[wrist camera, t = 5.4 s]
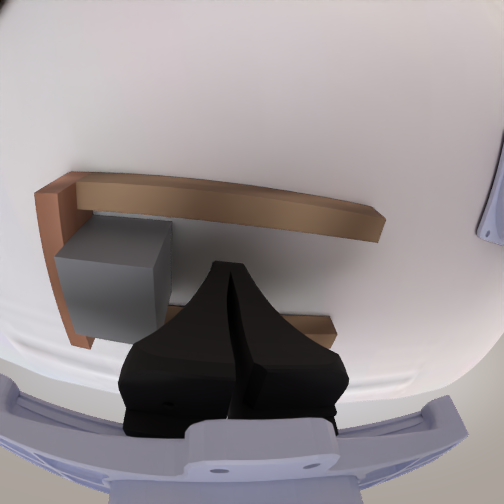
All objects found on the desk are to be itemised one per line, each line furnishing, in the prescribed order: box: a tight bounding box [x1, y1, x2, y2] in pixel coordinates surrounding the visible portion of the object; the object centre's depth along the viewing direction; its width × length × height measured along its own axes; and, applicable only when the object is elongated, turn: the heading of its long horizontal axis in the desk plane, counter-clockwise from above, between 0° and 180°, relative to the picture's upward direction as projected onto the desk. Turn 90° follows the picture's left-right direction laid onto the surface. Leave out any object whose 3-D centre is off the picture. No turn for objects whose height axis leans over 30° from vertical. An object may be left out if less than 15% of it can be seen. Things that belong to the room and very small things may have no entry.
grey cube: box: [54, 215, 172, 344], centre depth 11 cm, size 4×4×4 cm
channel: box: [34, 172, 386, 349], centre depth 12 cm, size 14×8×3 cm, turn 80°
